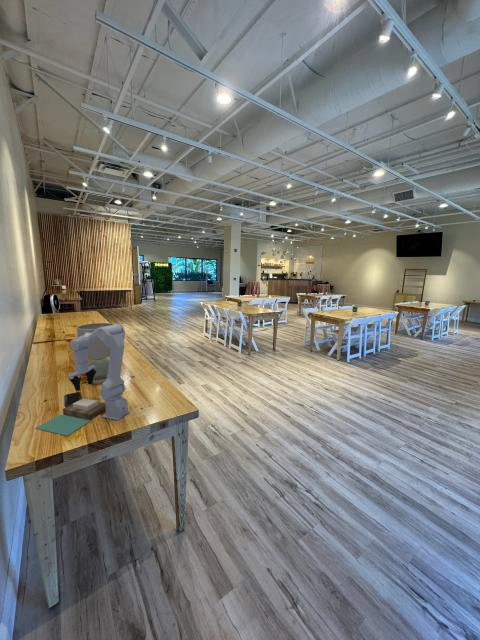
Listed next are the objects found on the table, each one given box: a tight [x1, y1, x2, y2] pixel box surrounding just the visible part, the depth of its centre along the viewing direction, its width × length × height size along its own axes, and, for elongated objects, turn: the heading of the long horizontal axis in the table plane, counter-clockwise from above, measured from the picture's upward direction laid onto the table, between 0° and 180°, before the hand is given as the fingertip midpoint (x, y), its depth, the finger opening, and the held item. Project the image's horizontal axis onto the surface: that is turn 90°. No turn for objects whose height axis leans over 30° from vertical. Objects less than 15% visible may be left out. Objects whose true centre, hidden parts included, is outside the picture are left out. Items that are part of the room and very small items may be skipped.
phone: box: [63, 391, 83, 408], centre depth 142 cm, size 8×1×15 cm
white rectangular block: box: [73, 397, 99, 410], centre depth 129 cm, size 9×6×2 cm, turn 74°
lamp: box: [76, 322, 115, 385], centre depth 165 cm, size 20×20×35 cm
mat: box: [35, 414, 92, 437], centre depth 119 cm, size 18×12×1 cm, turn 74°
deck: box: [62, 401, 106, 421], centre depth 130 cm, size 16×11×3 cm
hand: (84, 387), depth 135 cm, fingers open, 7 cm apart
